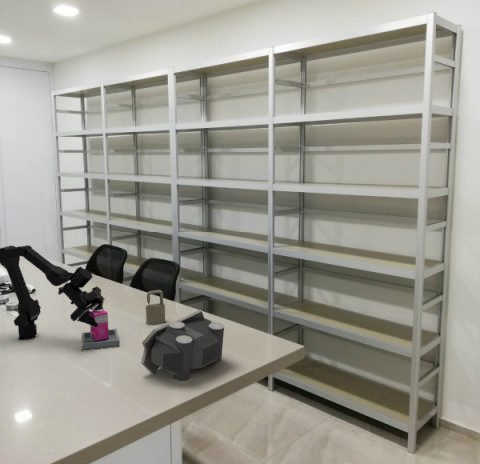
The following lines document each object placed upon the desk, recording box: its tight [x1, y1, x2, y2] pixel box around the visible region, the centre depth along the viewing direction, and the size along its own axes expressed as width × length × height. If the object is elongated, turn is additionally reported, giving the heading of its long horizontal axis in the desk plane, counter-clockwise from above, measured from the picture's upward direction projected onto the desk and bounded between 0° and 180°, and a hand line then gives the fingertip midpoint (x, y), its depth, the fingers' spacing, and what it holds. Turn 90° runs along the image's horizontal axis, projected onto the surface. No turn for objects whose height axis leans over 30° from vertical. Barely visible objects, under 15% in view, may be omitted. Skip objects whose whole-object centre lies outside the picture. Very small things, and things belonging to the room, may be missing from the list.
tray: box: [81, 328, 120, 351], centre depth 206 cm, size 14×14×3 cm
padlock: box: [145, 289, 166, 326], centre depth 228 cm, size 4×8×15 cm, turn 116°
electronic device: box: [140, 309, 225, 382], centre depth 180 cm, size 18×21×30 cm
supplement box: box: [89, 308, 109, 342], centre depth 205 cm, size 6×6×12 cm
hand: (102, 323), depth 204 cm, fingers closed on supplement box, 8 cm apart
